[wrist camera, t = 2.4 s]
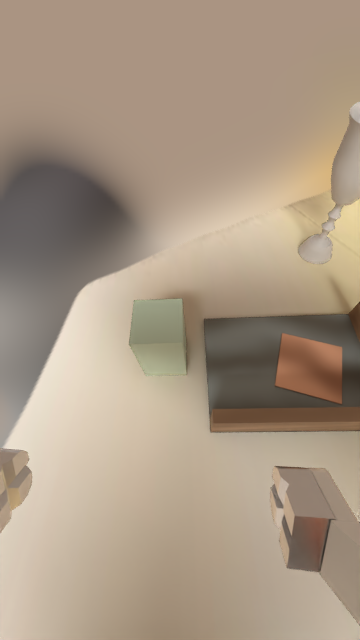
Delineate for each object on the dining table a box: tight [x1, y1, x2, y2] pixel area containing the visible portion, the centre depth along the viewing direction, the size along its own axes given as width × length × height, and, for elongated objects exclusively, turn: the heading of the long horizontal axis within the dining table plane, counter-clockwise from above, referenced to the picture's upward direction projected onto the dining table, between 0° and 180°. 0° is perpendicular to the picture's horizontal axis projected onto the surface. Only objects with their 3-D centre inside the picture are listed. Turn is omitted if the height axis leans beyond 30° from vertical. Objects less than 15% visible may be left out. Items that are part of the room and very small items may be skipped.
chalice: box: [298, 102, 360, 264], centre depth 32 cm, size 7×7×18 cm
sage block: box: [129, 298, 187, 376], centre depth 29 cm, size 5×5×9 cm
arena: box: [204, 302, 360, 432], centre depth 28 cm, size 14×20×6 cm
